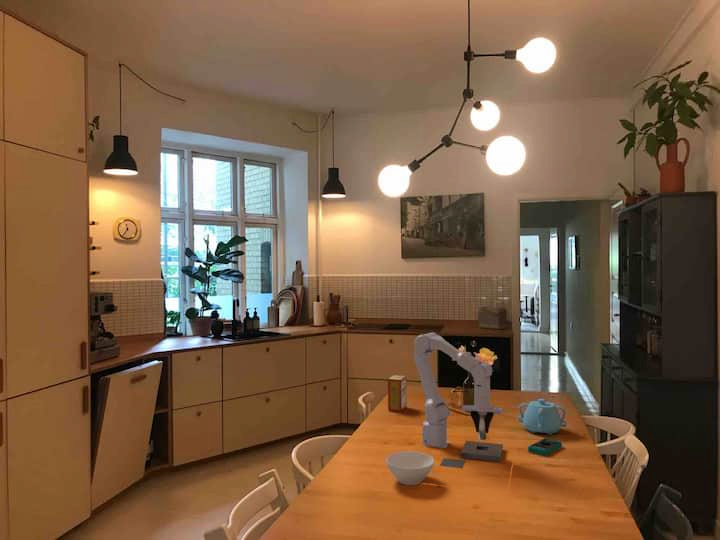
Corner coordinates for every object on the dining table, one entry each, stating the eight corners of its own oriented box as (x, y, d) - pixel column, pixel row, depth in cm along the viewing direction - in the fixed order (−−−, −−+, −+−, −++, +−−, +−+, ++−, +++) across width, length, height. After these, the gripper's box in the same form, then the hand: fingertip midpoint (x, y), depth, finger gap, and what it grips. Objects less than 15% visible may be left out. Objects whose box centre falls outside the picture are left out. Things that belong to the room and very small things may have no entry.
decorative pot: (536, 438, 221) (536, 405, 221) (514, 427, 237) (514, 396, 236) (570, 435, 226) (570, 402, 225) (546, 424, 241) (547, 393, 241)
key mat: (439, 467, 190) (439, 465, 190) (443, 459, 198) (443, 457, 198) (462, 469, 187) (462, 468, 187) (465, 461, 195) (465, 460, 195)
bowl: (438, 474, 183) (438, 454, 183) (428, 493, 168) (428, 471, 168) (393, 469, 188) (393, 449, 188) (379, 487, 173) (379, 465, 173)
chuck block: (460, 459, 198) (460, 452, 198) (466, 447, 211) (466, 440, 211) (500, 463, 193) (500, 456, 193) (503, 450, 206) (503, 444, 206)
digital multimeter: (562, 448, 210) (562, 440, 210) (545, 457, 200) (545, 449, 200) (545, 444, 216) (545, 436, 216) (527, 453, 205) (527, 445, 205)
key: (477, 439, 201) (477, 415, 201) (479, 436, 204) (478, 413, 203) (485, 440, 200) (485, 416, 200) (487, 437, 203) (487, 413, 202)
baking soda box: (400, 412, 262) (400, 379, 262) (388, 410, 264) (388, 378, 264) (406, 407, 271) (406, 375, 270) (394, 406, 273) (393, 374, 273)
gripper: (461, 396, 200) (461, 433, 200) (501, 399, 196) (501, 437, 196) (463, 392, 207) (463, 427, 207) (502, 395, 202) (502, 431, 202)
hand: (482, 431), depth 202 cm, fingers closed on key, 3 cm apart
